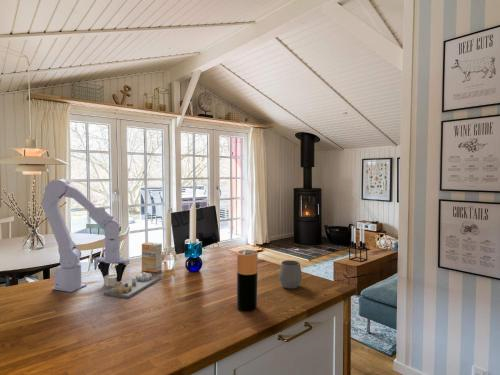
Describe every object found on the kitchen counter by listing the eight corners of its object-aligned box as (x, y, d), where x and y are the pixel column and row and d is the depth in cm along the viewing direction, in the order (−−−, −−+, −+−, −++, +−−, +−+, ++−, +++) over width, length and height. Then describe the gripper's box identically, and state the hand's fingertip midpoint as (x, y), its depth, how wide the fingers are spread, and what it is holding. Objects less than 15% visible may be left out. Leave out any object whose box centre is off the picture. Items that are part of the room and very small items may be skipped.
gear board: (103, 294, 124) (103, 285, 124) (139, 276, 145) (139, 268, 145) (128, 298, 121) (128, 288, 120) (160, 279, 142) (160, 270, 141)
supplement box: (141, 271, 152) (140, 243, 151) (147, 268, 157) (147, 241, 156) (156, 273, 150) (156, 245, 149) (162, 270, 154) (162, 242, 154)
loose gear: (101, 285, 133) (101, 277, 133) (112, 280, 140) (112, 272, 140) (112, 287, 132) (112, 278, 132) (123, 281, 138) (123, 273, 138)
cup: (301, 283, 138) (301, 260, 138) (302, 291, 129) (302, 266, 129) (278, 282, 139) (279, 259, 139) (278, 290, 130) (279, 265, 129)
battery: (239, 313, 109) (239, 254, 108) (234, 304, 116) (235, 249, 115) (259, 310, 111) (260, 253, 110) (253, 302, 118) (254, 248, 117)
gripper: (90, 249, 132) (90, 282, 133) (122, 251, 130) (122, 285, 130) (101, 245, 139) (101, 276, 140) (132, 247, 136) (132, 279, 137)
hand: (112, 280), depth 136 cm, fingers closed on loose gear, 5 cm apart
